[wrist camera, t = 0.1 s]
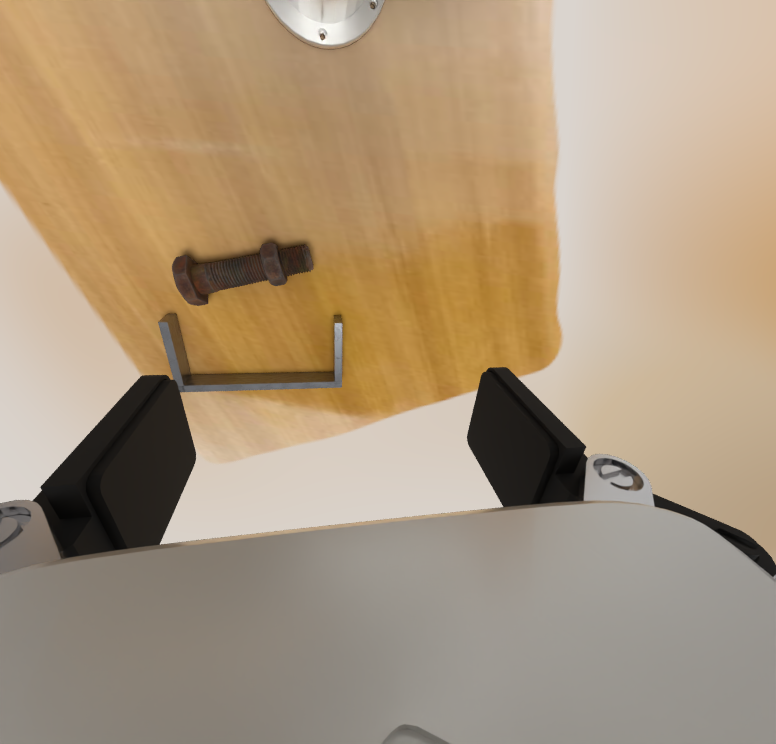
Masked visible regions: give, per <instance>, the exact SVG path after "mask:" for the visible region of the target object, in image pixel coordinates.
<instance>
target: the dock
mask: <svg viewBox="0 0 776 744" xmlns="http://www.w3.org/2000/svg"><path fill="white" fill-rule="evenodd" d="M158 323H159V327H160V331H161V334H162V338H163V342H164V346H165V349H166V353H167V357H168V360H169V364H170V368H171V371H172V375H173V379H174V380H175V381H176V382H177V384H178V388H179V392H204V391H237V390H271V389H305V388H338V387H342V318H341V315H334V372H293V373H245V374H197V375H191V373H190V368H189V364H188V360H187V356H186V352H185V348H184V344H183V339H182V335H181V331H180V327H179V323H178V319H177V314H167V315H166V316H165V317H164V318H162V319H161V320H160V321H159V322H158Z"/></svg>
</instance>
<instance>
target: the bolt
mask: <svg viewBox="0 0 776 744" xmlns="http://www.w3.org/2000/svg"><path fill="white" fill-rule="evenodd" d="M311 270H313V263H312V259H311V256H310V252H309V248H308V246H306V245H305V244H304V246H303V245H301V247H300V246H299V247H297V246H296V248H295V247H293V248H290V249H289V248H288V249H286V248H285V250H283V249H282V250H280V249H279V248H278V246H277V245H276V244H274V243H267V244H262V246H261V248H260V253H259V255H258V254H256V255H255V254H254V255H253V256H252V255H251V256H249V255H248V257H246V256H245V258H244V257H242V258H240V257H239V259H238V258H236V259H235V258H233V259H230V260H229V259H228V260H225V261H219V262H213V263H203V264H198V263H196V262H195V261H194V260H192V259H191V258H190V257H188V256H187V255H185V256H180V257H176V259H175V260H174V262H173V265H172V271H173V276H174V280H175V283H176V286H177V289H178V290H179V292H180V293H181V295H182V296H183V298H184V299H185V300H186V301H187V302H188V303H189V304H191V305H197V306H200V305H205V304H208V294H209V293H214V292H217V291H219V290H223V289H228V288H231V287H232V288H234V287H237V286H238V287H239V286H243V285H248V284H251V283H252V284H253V283H256V282H259V281H260V282H262V281H265V280H266V281H267V280H269V282H270V284H272V285H274V286H279V285H284V284H285V283H286V282H287V275H288V276H289V275H291V276H292V274H293V275H294V274H297V273H299V274H300V272H301V273H303V272H308V271H311Z"/></svg>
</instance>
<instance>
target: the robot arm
mask: <svg viewBox="0 0 776 744" xmlns="http://www.w3.org/2000/svg"><path fill="white" fill-rule="evenodd" d="M265 1H266V3H267V5H268V7H269V8H270V9H271V11H272V12H273V14H274V15H275V17H276V18H277V20H278V21H279V22H280V23H281V24H282V25H283V26H284V27H285V28H286V29H287V30H288V31H289V32H290V33H292V34H293V35H294V36H296V37H297V38H298V39H300V40H301V41H303V42H305V43H308V44H310V45H312V46H315V47H319V48H324V49H338V48H341V47H345V46H348V45H350V44H352V43H354V42H355V41H357V40H359V39H360V38H361V37H362V36H363V35H364V34H365V33H366V32H367V31H368V30H369V29H370V28H371V26H372V25H373V23H374V22H375V20H376V19H377V17H378V15H379V13H380V11H381V8H382V6H383V4H384V1H385V0H265ZM370 4H374V6H375V9H371V7H370ZM321 34H323V35H324V36H325V39H324V40H321V39H320V35H321ZM467 441H468V445H469V447H470V448H471V450H472V452H473V454H474V456H475V457H476V459H477V461H478V463H479V464H480V466H481V468H482V470H483V471H484V473H485V475H486V477H487V478H488V480H489V482H490V484H491V486H492V487H493V489H494V491H495V493H496V495H497V496H498V498H499V499H500V502H501V503H502V505H503V507H501V508H492V509H481V510H472V511H461V512H452V513H441V514H432V515H422V516H413V517H403V518H394V519H384V520H376V521H366V522H356V523H348V524H338V525H328V526H319V527H310V528H301V529H292V530H283V531H274V532H266V533H256V534H247V535H238V536H230V537H221V538H212V539H203V540H195V541H186V542H178V543H170V544H161V545H159V544H160V542H161V540H162V538H163V535H164V533H165V531H166V528H167V526H168V524H169V521H170V519H171V517H172V515H173V512H174V510H175V508H176V506H177V503H178V501H179V499H180V496H181V494H182V492H183V490H184V487H185V485H186V483H187V480H188V478H189V476H190V474H191V471H192V469H193V467H194V464H195V461H196V451H195V447H194V444H193V440H192V436H191V432H190V429H189V425H188V421H187V418H186V414H185V410H184V406H183V403H182V399H181V395H180V392H179V388H178V384H177V382H176V381H175V380H170V378H169V377H168V376H167V375H144V376H141V377H140V378H139V379H138V380H137V382H135V384H134V385H133V386H132V387H131V388H130V389H129V390H128V391H127V392H126V394H125V395H124V396H123V397H122V398H121V399H120V400H119V401H118V402H117V403H116V404H115V406H114V407H113V408H112V409H111V410H110V411H109V412H108V413H107V414H106V415H105V417H104V418H103V419H102V420H101V421H100V422H99V423H98V424H97V425H96V426H95V428H94V429H93V430H92V431H91V432H90V433H89V434H88V435H87V436H86V437H85V439H84V440H83V441H82V442H81V443H80V444H79V445H78V446H77V447H76V448H75V450H74V451H73V452H72V453H71V454H70V455H69V456H68V457H67V458H66V460H65V461H64V462H63V463H62V464H61V465H60V466H59V467H58V469H56V470H55V472H54V473H53V474H52V475H51V476H50V477H49V478H48V479H47V480H46V481H45V483H44V484H43V485H42V486H41V489H42V491H41V492H40V493H39V494H38V495H37V497H36V498H35V499H34V500H33V501H30V500H14V501H9V502H5V503H0V744H776V565H775V563H774V561H773V560H772V557H771V556H770V555H769V554H768V553H767V552H766V551H765V550H764V548H762V547H761V546H760V545H759V544H757V542H756V541H755V540H754V539H752V538H751V537H750V536H749V535H747V534H746V533H744V532H742V531H740V530H738V529H736V528H733V527H731V526H729V525H726V524H724V523H722V522H719V521H717V520H714V519H712V518H710V517H707V516H705V515H703V514H700V513H698V512H695V511H693V510H691V509H688V508H686V507H683V506H681V505H679V504H676V503H674V502H672V501H669V500H667V499H664V498H662V497H660V496H657V495H655V494H652V488H651V485H650V482H649V479H648V478H647V477H646V476H645V475H644V473H643V472H641V471H640V470H639V469H638V468H637V467H635V466H634V465H632V464H630V463H629V462H627V461H625V460H622V459H620V458H618V457H615V456H611V455H606V454H595V455H592V456H590V457H589V458H587V457H586V456H585V454H584V451H585V448H586V446H585V445H584V444H583V443H582V442H581V441H580V440H579V439H578V438H577V437H576V436H575V435H574V434H573V433H572V432H571V431H570V430H569V429H568V428H567V427H566V426H565V425H564V424H563V423H562V422H561V421H560V420H559V419H558V418H557V417H556V416H555V415H554V414H553V413H552V412H551V411H550V410H549V409H548V408H547V407H546V406H545V405H544V404H543V403H542V402H541V401H540V400H539V399H538V398H537V397H536V396H535V395H534V394H533V393H532V392H531V391H530V390H529V389H528V388H527V387H526V386H525V385H524V384H523V383H522V382H521V381H520V380H519V379H518V378H517V377H516V376H515V375H514V374H513V373H512V372H511V371H510V370H509V369H508V368H506V367H499V368H488V369H487V371H486V372H484V373H483V374H482V376H481V379H480V383H479V388H478V392H477V396H476V401H475V405H474V409H473V413H472V417H471V422H470V426H469V430H468V435H467Z"/></svg>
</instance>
